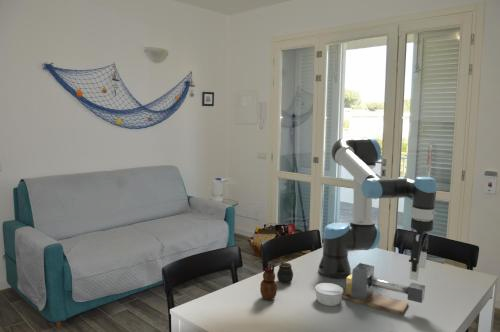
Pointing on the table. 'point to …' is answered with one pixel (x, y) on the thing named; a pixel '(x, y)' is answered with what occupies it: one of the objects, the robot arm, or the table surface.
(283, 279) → the mate gourd
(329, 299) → the ramekin
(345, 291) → the pad
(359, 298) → the block
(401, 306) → the walnut board
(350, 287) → the brass collar
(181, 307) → the table surface
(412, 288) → the shaft
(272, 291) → the wooden figurine
